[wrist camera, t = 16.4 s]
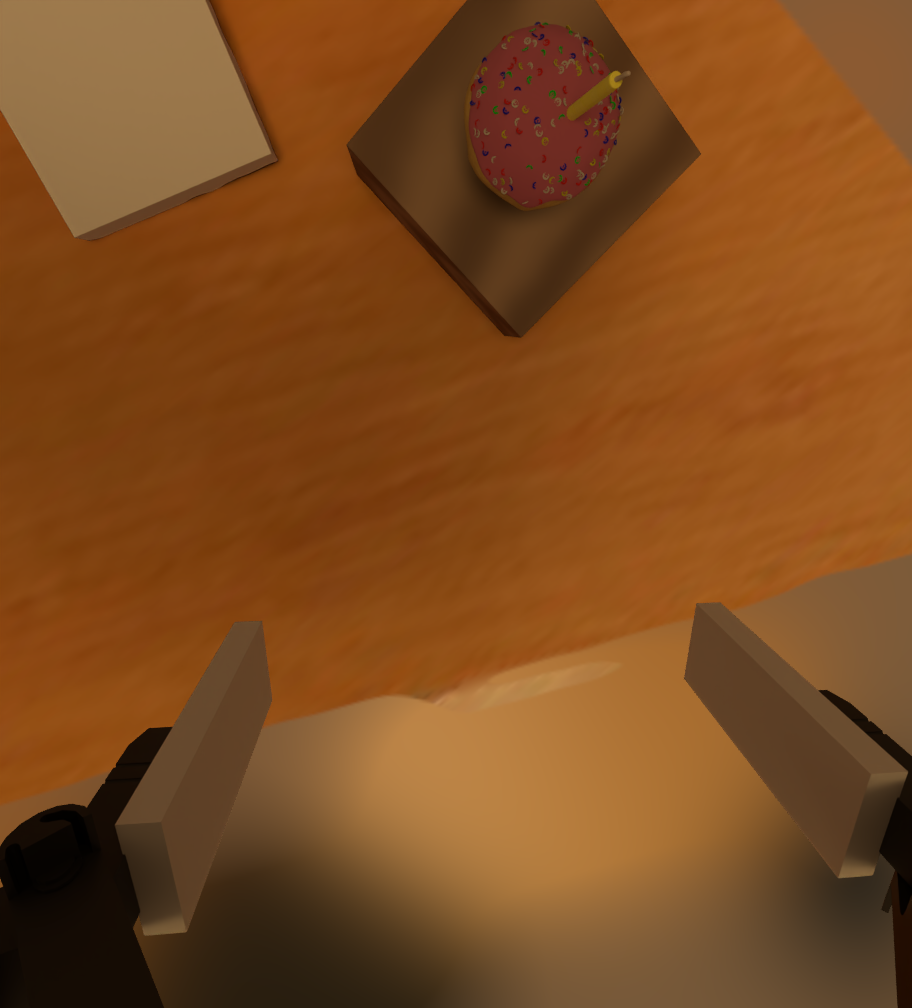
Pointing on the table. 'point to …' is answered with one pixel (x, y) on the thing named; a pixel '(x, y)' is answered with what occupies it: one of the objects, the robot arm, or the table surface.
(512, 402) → the table surface
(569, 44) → the cupcake
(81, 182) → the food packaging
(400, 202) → the riser
